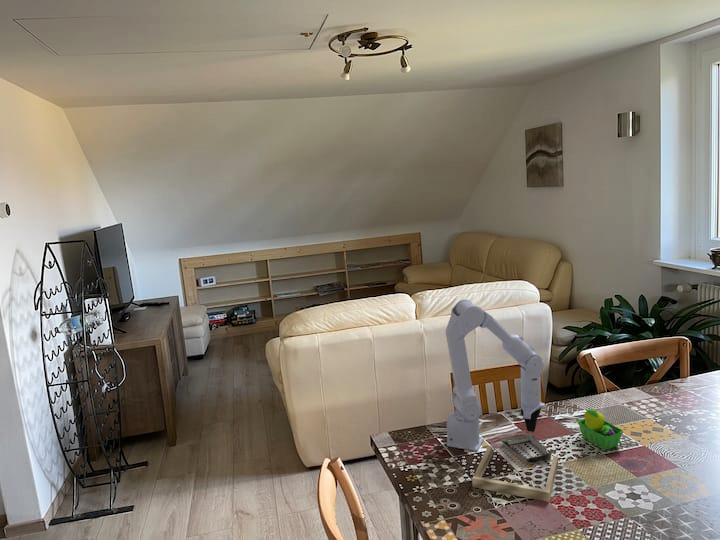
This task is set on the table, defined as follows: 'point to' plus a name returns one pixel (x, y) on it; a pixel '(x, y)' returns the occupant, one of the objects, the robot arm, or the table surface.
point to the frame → (511, 487)
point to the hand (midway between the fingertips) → (531, 430)
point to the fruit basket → (599, 430)
